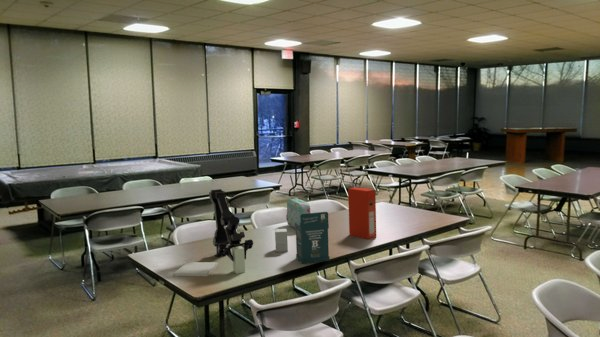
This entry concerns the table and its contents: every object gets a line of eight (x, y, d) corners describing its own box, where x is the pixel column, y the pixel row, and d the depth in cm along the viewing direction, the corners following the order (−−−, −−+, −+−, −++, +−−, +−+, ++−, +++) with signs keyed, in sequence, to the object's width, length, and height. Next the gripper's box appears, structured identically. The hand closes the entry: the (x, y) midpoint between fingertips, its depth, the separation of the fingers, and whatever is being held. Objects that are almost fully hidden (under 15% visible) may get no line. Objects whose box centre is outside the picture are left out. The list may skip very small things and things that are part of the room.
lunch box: (284, 224, 342) (283, 197, 339) (297, 223, 346) (296, 195, 344) (299, 232, 318) (298, 202, 315) (312, 230, 322) (311, 200, 320)
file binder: (368, 239, 293) (367, 191, 289) (349, 234, 306) (348, 188, 302) (376, 237, 298) (375, 189, 294) (357, 232, 311) (356, 187, 307)
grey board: (187, 264, 253) (186, 262, 253) (217, 265, 251) (217, 262, 251) (173, 275, 236) (173, 273, 235) (206, 276, 233) (206, 273, 233)
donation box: (302, 264, 248) (300, 214, 245) (294, 256, 263) (292, 208, 260) (329, 260, 252) (328, 211, 249) (320, 252, 267) (318, 206, 264)
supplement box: (287, 248, 279) (287, 228, 278) (287, 251, 272) (287, 231, 270) (275, 248, 279) (275, 228, 277) (275, 252, 271) (274, 231, 270)
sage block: (233, 271, 240) (232, 247, 239) (242, 269, 242) (241, 245, 241) (236, 273, 236) (234, 249, 234) (245, 272, 238) (244, 248, 236)
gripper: (217, 229, 236) (224, 255, 227) (251, 224, 244) (259, 249, 235) (214, 240, 244) (221, 266, 235) (247, 235, 252) (254, 260, 243)
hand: (239, 260), depth 237 cm, fingers open, 6 cm apart
